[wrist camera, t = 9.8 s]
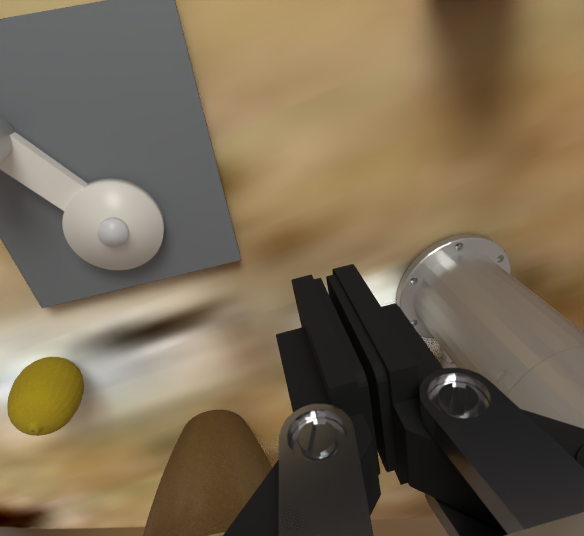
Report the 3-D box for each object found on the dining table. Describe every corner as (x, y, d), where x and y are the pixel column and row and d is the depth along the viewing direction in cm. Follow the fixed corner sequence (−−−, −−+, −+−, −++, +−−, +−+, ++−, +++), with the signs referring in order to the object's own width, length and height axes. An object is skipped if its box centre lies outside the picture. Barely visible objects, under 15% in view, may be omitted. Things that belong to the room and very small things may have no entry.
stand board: (239, 252, 38) (242, 264, 36) (47, 298, 36) (38, 314, 34) (172, -10, 28) (170, -13, 26) (-103, 38, 26) (-127, 40, 24)
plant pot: (298, 398, 49) (339, 540, 36) (244, 478, 54) (263, 629, 41) (174, 370, 43) (167, 528, 30) (127, 463, 49) (104, 633, 35)
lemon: (67, 330, 38) (42, 396, 32) (103, 369, 41) (86, 437, 35) (12, 354, 38) (-26, 425, 32) (51, 392, 41) (25, 464, 35)
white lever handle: (182, 218, 34) (181, 252, 28) (128, 277, 35) (117, 319, 30) (-3, 77, 26) (-48, 90, 21) (-61, 158, 28) (-116, 188, 23)
